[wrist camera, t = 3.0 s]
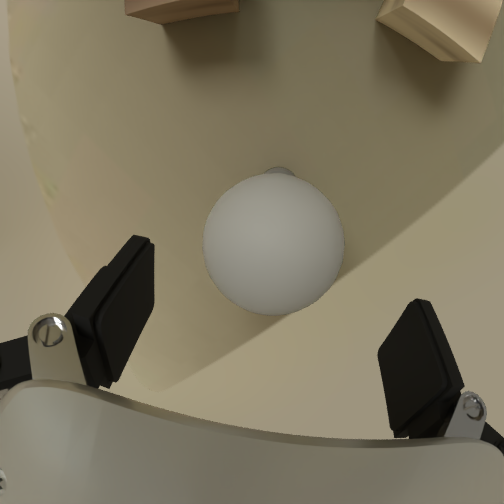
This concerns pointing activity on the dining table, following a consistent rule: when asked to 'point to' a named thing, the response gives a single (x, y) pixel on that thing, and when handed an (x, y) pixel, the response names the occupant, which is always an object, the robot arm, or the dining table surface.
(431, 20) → the beech cube
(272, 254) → the lightbulb
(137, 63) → the dining table surface
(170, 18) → the walnut cube
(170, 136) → the dining table surface
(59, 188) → the dining table surface
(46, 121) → the dining table surface
